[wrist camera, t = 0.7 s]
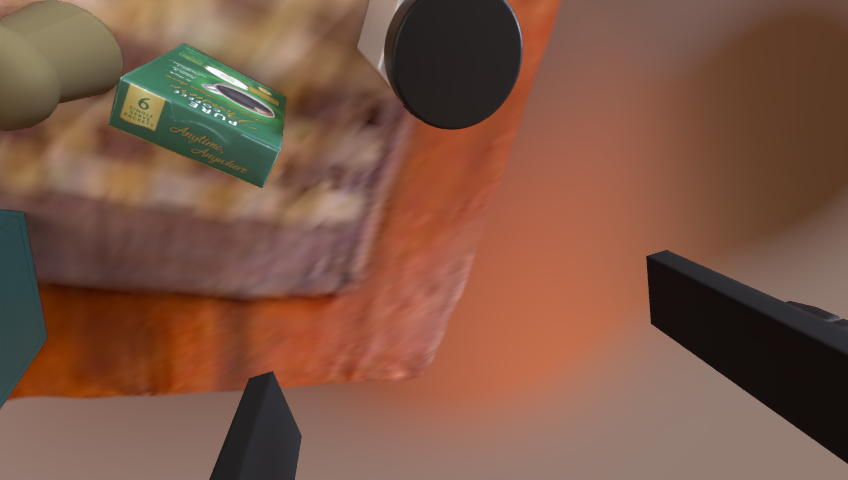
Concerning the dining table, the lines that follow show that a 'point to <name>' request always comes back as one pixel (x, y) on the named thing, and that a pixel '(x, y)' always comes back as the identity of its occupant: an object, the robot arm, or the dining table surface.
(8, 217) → the cabinet
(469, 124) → the jar
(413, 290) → the dining table surface
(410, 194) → the dining table surface
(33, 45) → the olive peanut shape
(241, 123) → the coffee box
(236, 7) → the dining table surface
